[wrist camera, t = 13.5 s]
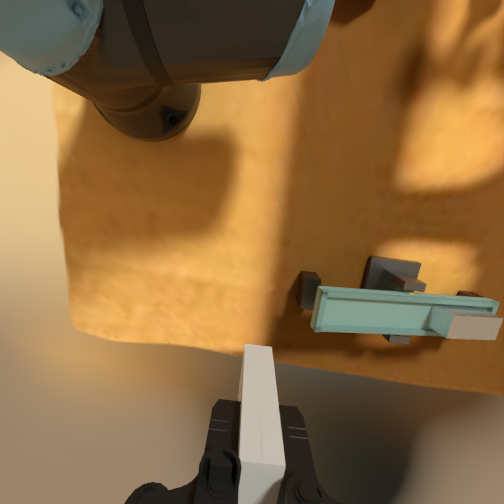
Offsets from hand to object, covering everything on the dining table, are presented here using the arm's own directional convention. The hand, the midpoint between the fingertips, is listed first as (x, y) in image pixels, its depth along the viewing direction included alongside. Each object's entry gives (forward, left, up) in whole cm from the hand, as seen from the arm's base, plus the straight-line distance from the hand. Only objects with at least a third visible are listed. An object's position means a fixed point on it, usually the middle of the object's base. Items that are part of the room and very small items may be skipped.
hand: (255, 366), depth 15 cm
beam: (+5, +23, -23) cm, 33 cm away
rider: (+5, +31, -24) cm, 39 cm away
